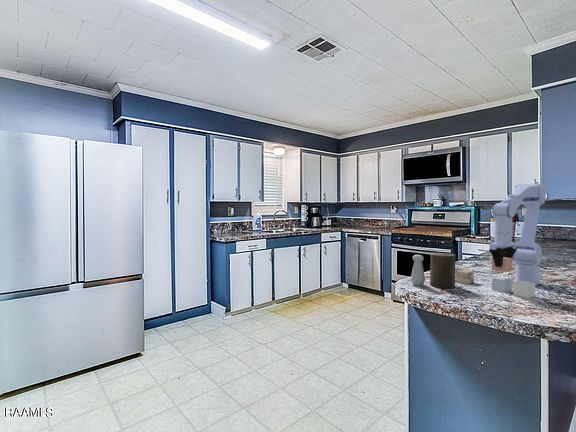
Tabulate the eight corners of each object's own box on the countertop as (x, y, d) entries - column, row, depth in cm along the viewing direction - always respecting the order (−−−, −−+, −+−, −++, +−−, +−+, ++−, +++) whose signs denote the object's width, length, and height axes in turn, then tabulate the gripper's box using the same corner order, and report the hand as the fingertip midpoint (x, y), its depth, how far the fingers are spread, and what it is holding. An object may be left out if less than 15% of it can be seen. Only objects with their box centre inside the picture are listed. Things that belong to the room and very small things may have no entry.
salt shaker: (426, 286, 134) (426, 256, 134) (412, 286, 135) (412, 256, 135) (423, 283, 140) (423, 254, 140) (409, 282, 141) (409, 254, 141)
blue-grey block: (499, 288, 132) (499, 276, 132) (512, 291, 127) (512, 279, 127) (492, 290, 129) (492, 277, 129) (505, 292, 125) (505, 280, 125)
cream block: (520, 293, 125) (520, 280, 124) (535, 296, 120) (535, 283, 120) (513, 294, 122) (513, 282, 122) (527, 298, 118) (528, 285, 118)
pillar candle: (449, 290, 129) (450, 253, 129) (425, 285, 136) (426, 250, 136) (458, 286, 135) (459, 251, 135) (435, 282, 143) (436, 249, 142)
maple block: (463, 280, 146) (463, 269, 146) (473, 282, 142) (473, 271, 141) (456, 281, 144) (456, 270, 144) (466, 284, 139) (466, 272, 139)
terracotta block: (499, 268, 132) (499, 256, 131) (512, 270, 127) (512, 258, 127) (491, 269, 129) (492, 257, 129) (504, 271, 125) (505, 259, 125)
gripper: (503, 231, 134) (502, 263, 135) (482, 232, 128) (481, 266, 128) (521, 232, 128) (521, 265, 128) (500, 234, 122) (499, 269, 122)
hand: (502, 266), depth 128 cm, fingers closed on terracotta block, 5 cm apart
